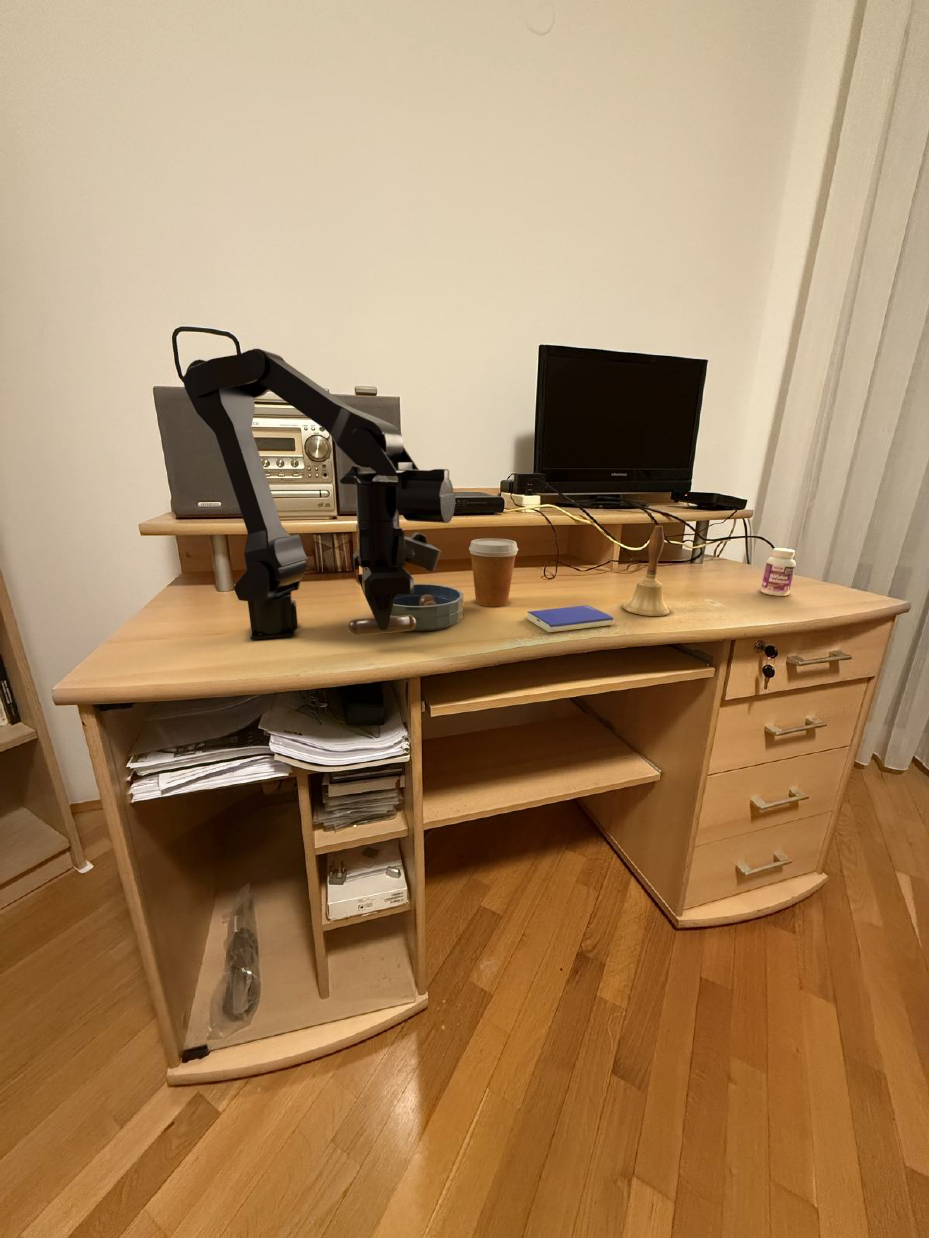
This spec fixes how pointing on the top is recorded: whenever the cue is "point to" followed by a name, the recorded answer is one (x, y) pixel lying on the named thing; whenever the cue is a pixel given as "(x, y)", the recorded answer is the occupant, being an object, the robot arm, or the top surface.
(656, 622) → the top surface
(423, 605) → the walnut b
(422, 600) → the glossy brown ball
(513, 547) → the disposable coffee cup
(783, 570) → the pill bottle
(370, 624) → the stick
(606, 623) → the hard drive
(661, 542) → the hand bell
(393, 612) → the bowl
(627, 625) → the top surface
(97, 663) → the top surface
